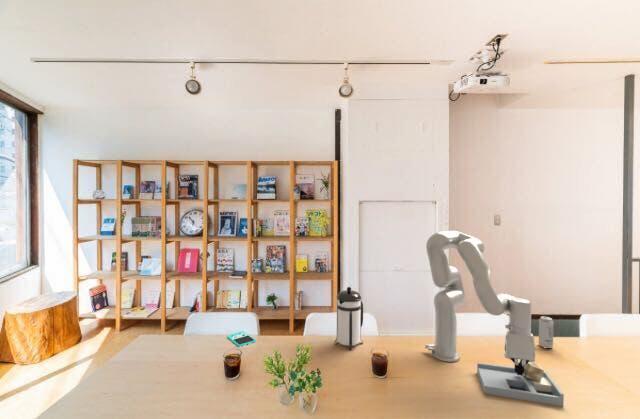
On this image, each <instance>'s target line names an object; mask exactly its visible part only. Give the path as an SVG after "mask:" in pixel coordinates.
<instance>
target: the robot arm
mask: <svg viewBox="0 0 640 419" xmlns="http://www.w3.org/2000/svg"><path fill="white" fill-rule="evenodd" d="M425 245H426V254H427V257H428V261H429V267H430V273H431V279H432V281H433V284H434V286H436V287H437V288H440V289H443V290H440V291H438V292H437V293H436V294H435V295H434V298H433V306H434V313H435V316H434V317H435V320H434V322H435V325H434V326H435V327H434V329H435V336H434V338H435V339H434V340H435V342H434V343H432V344H429V343H428V344H427V343H425V344H424V345H425V349H427V350H428V351H431V355H432V356H433V358H435V359H437V360H439V361H443V362H449V363H451V362H452V363H454V362H457V361H459V360H460V356H461V355H460V354H459V352H458V351H457V329H458V328H457V326H458V324H457V322H458V321H457V319H458V318H457V315H456V309H457V308H459V307H461V306H463V304H465V301H466V294H465V289H464V284H463V279H462V275H461V273H460V271H459V270H458V268H456V267H455V266H452V265H449V261H448V257H447V255H446V253H445V250H447V249H448V250H449V249H452V248H454V249H456V250H457V252H458V254H459V257H461V260H462V262H464V264H465V266H466V268H467V269H468V270H467V271H469V273H470V275H471V278H472V284H473V287H474V292H475V295H476V296H477V298H478V300H479V301H480V304H481V305H482V307H483V308H484V309H485V311H486V312H487V313H488V314H490V315H492V316H501V315H502V314H505V313H508V312H509V313H508V314H509V315H508V318H509V319H508V320H509V322H508V324H505V325H504V328H505V329H507V331H506V334H505V340H504V354H503V356H504V358H505V359H506V360H507V359H508V360H511V361H512V363H514V369H515V372H516V373H517V375H521V376H522V373H524V366H525V365H526V364H527V363H528V362H533V363H535V362H536V343H535V337H534V334H533V333H532V303H531V300H528V299H526V298H523V297H516V296H513V295H512V296H511V294H506V293H502V292H500V293H496V291H495V290H494V289H493V286H492V283H491V275H492V268H491V266H490V264H489V263H488V261H487V259H486V258H485V256H484V255H483V253H484V251H485V245H484V243H483V241H481V240H480V239H479V238H477V237H474V236H472V235H468V234H465V233H463V232H459V231H457V230H446V231H445V230H444V231H442V230H441V231H439V232H435V233H434V234H431V236H429V238H428V240H427V241H426V244H425Z"/></svg>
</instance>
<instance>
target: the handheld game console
mask: <svg viewBox="0 0 640 419" xmlns="http://www.w3.org/2000/svg"><path fill="white" fill-rule="evenodd" d="M227 339H228V340H230V341H231V342H232V343H234V344H235V345H236V346H239V347H238V348H241V347H243V346H242V345H245V346H247V345H250V344H249V343H251V344H253V343H252V342H254V343H256V342H257V340H256V339H255V338H253V337H252V336H250V335H249V334H247V333H246V332H245V331H243V330H242V331H238V332H235V333H231V334H229V335H228V336H227ZM246 344H247V345H246ZM240 346H241V347H240Z"/></svg>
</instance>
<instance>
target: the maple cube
mask: <svg viewBox="0 0 640 419" xmlns="http://www.w3.org/2000/svg"><path fill="white" fill-rule="evenodd" d="M543 372H545V369H543V367H542V366H541V365H540V364H538V363H535V362H528V363H527V364H526V365H525V366H524V375H525V376H526V377H527V378H530V379H533V380H535V381H538V382H541V379H542V375H543Z"/></svg>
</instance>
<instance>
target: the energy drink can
mask: <svg viewBox="0 0 640 419" xmlns="http://www.w3.org/2000/svg"><path fill="white" fill-rule="evenodd" d="M538 322H539V323H538V345H539V347H540V346H542V347H546V348H551V349H552V348H553V347H554V320H553V318H552V317H550V316H544V315H543V316H540V318H539V319H538ZM542 347H541V348H542Z"/></svg>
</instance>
